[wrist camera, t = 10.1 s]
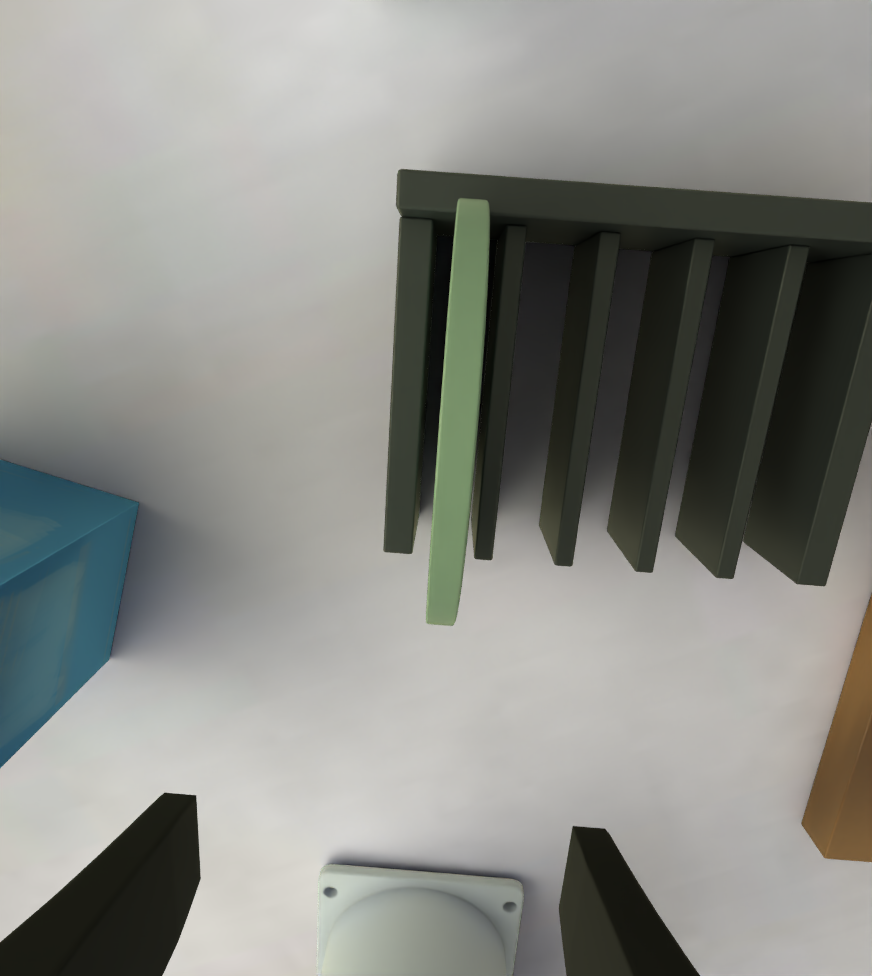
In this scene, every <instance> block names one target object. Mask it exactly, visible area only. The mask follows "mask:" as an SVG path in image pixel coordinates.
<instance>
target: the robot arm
mask: <svg viewBox="0 0 872 976" xmlns="http://www.w3.org/2000/svg"><path fill="white" fill-rule="evenodd" d="M200 879H201V877H200V858H199V839H198V821H197V802H196V795H185V794H173V793H164V794H163V795H161V796H160V797H159V798H158V799H157V800H156V801H155V802H154V803H153V804H152V805H151V806H149V807H148V808H147V809H146V810H145V811H144V812H143V813H142V814H141V815H140V816H139V817H138V818H137V819H136V820H135V821H134V822H133V823H132V824H131V825H130V826H129V827H128V828H127V829H126V830H125V831H124V832H123V833H122V834H121V835H119V836H118V837H117V838H116V839H115V840H114V841H113V842H112V843H111V844H110V845H109V846H108V847H107V848H106V849H105V850H104V851H103V852H102V853H101V854H100V855H98V856H97V857H96V858H95V859H94V860H93V861H92V862H91V863H90V864H89V865H88V866H87V867H85V868H84V869H83V870H82V871H81V872H80V873H79V874H78V875H77V876H76V877H75V878H73V879H72V880H71V881H70V882H69V883H68V884H67V885H66V886H65V887H64V888H63V889H61V890H60V891H59V892H58V893H57V894H56V895H55V896H54V897H53V898H51V899H50V900H49V901H48V902H47V903H46V904H45V905H43V906H42V907H41V908H40V909H39V910H37V911H36V912H35V913H34V914H33V915H32V916H30V917H29V918H28V919H27V920H26V921H25V922H23V923H22V924H21V925H20V926H19V927H18V928H16V929H15V930H14V931H13V932H12V933H11V934H9V935H8V936H7V937H6V938H5V939H4V940H2V941H1V942H0V976H162V975H163V973H164V971H165V969H166V966H167V964H168V962H169V960H170V958H171V956H172V954H173V951H174V949H175V947H176V945H177V943H178V940H179V938H180V935H181V932H182V930H183V927H184V924H185V921H186V919H187V916H188V913H189V910H190V908H191V905H192V902H193V899H194V896H195V893H196V890H197V887H198V885H199V882H200ZM331 887H333V888H331ZM523 901H524V892H523V886H522V884H521V883H520V882H519V881H517V880H515V879H508V878H496V877H484V876H472V875H460V874H448V873H435V872H423V871H411V870H399V869H387V868H375V867H363V866H351V865H338V864H328V865H326V866H324V867H323V868H322V869H321V871H320V875H319V879H318V926H317V976H513V969H514V962H515V955H516V948H517V942H518V935H519V928H520V921H521V914H522V908H523ZM559 914H560V924H561V933H562V942H563V950H564V959H565V967H566V974H567V976H700V975H699V974H698V972H697V971H696V969H695V968H694V966H693V965H692V964H691V962H690V961H689V959H688V958H687V956H686V955H685V954H684V952H683V951H682V949H681V948H680V946H679V945H678V943H677V942H676V940H675V939H674V937H673V936H672V934H671V933H670V931H669V930H668V928H667V927H666V925H665V924H664V922H663V921H662V919H661V918H660V916H659V915H658V913H657V912H656V910H655V908H654V907H653V905H652V904H651V902H650V901H649V899H648V897H647V896H646V894H645V893H644V891H643V889H642V888H641V886H640V885H639V883H638V881H637V880H636V878H635V876H634V875H633V873H632V871H631V870H630V868H629V867H628V865H627V863H626V861H625V860H624V858H623V856H622V855H621V853H620V851H619V850H618V848H617V846H616V844H615V843H614V841H613V839H612V837H611V836H610V834H609V833H608V832H607V831H606V829H602V828H589V827H577V826H573V828H572V834H571V840H570V845H569V851H568V857H567V863H566V869H565V875H564V881H563V887H562V893H561V898H560V904H559Z"/></svg>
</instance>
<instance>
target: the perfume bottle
mask: <svg viewBox="0 0 872 976" xmlns="http://www.w3.org/2000/svg"><path fill="white" fill-rule="evenodd" d="M138 506H139V502H136V501H132V500H129V499H126V498H123V497H119V496H116V495H113V494H110V493H107V492H103V491H100V490H97V489H94V488H90V487H87V486H84V485H81V484H78V483H74V482H71V481H68V480H65V479H61V478H58V477H55V476H52V475H49V474H45V473H42V472H39V471H36V470H32V469H29V468H26V467H23V466H20V465H16V464H13V463H10V462H7V461H3V460H0V768H1V767H2V766H3V765H4V764H5V763H6V762H7V761H8V760H9V759H10V758H11V757H12V756H13V755H14V754H15V753H16V752H17V751H18V750H19V749H20V748H21V747H22V746H23V745H24V744H25V743H26V742H27V741H28V740H29V739H30V738H31V737H32V736H33V735H34V734H35V733H36V732H37V731H38V730H39V729H40V728H41V727H42V726H43V725H44V724H45V723H46V722H47V721H48V720H49V719H50V718H51V717H52V716H53V715H54V714H55V713H56V712H57V711H58V710H59V709H60V708H61V707H62V706H63V705H64V704H65V703H66V702H67V701H68V700H69V699H70V698H71V697H72V696H73V695H74V694H75V693H76V692H77V691H78V690H79V689H80V688H81V687H82V686H83V685H84V684H85V683H86V682H87V681H88V680H89V679H90V678H91V677H92V676H93V675H94V674H95V673H96V672H97V671H98V670H99V669H100V668H101V667H102V666H103V665H104V664H105V663H106V662H107V661H108V660H109V658H110V653H111V648H112V643H113V637H114V632H115V627H116V621H117V616H118V611H119V606H120V600H121V595H122V590H123V585H124V579H125V574H126V569H127V564H128V558H129V553H130V548H131V543H132V537H133V532H134V527H135V521H136V516H137V511H138Z"/></svg>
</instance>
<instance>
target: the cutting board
mask: <svg viewBox="0 0 872 976" xmlns="http://www.w3.org/2000/svg"><path fill="white" fill-rule="evenodd" d="M802 826H803V827H804V829H805V830H806V832H807V833H808V835H809V836H810V838H811V839H812V841H813V842H814V844H815V845H816V847H817V848H818V849H819V851H820V852H821V854H822V855H823V857H824V858H827V859H839V860H851V861H864V862H872V594H871V597H870V601H869V604H868V607H867V610H866V614H865V617H864V620H863V623H862V627H861V630H860V633H859V637H858V640H857V643H856V646H855V650H854V653H853V656H852V659H851V663H850V666H849V669H848V673H847V676H846V679H845V682H844V686H843V689H842V692H841V695H840V699H839V702H838V705H837V709H836V712H835V715H834V718H833V722H832V725H831V728H830V731H829V735H828V738H827V741H826V745H825V748H824V751H823V754H822V758H821V761H820V764H819V767H818V771H817V774H816V777H815V781H814V784H813V787H812V790H811V794H810V797H809V800H808V803H807V807H806V810H805V813H804V817H803V820H802Z"/></svg>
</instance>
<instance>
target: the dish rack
mask: <svg viewBox="0 0 872 976" xmlns="http://www.w3.org/2000/svg"><path fill="white" fill-rule="evenodd" d="M396 206H397V209H398V211H399V213H400V214H401V216H402V217H400V222H399V243H398V263H397V284H396V304H395V325H394V345H393V365H392V386H391V406H390V427H389V447H388V467H387V488H386V508H385V529H384V549H383V550H384V552H390V553H403V554H412V552H413V546H414V541H415V535H416V530H417V524H418V518H419V508H420V493H421V477H422V462H423V447H424V432H425V417H426V402H427V387H428V371H429V356H430V341H431V326H432V311H433V296H434V280H435V265H436V250H437V235H438V236H452V237H454V243H453V254H452V266H451V278H450V290H449V303H448V315H447V328H446V340H445V353H444V366H443V379H442V392H441V406H440V419H439V432H438V446H437V459H436V473H435V487H434V501H433V515H432V529H431V544H430V559H429V574H428V590H427V607H426V623H427V624H434V625H447V626H453V625H454V623H455V621H456V617H457V613H458V607H459V601H460V594H461V587H462V579H463V571H464V563H465V555H466V546H467V537H468V527H469V518H470V508H471V498H472V487H473V477H474V466H475V454H476V443H477V431H478V419H479V407H480V394H481V381H482V367H483V353H484V338H485V323H486V307H487V289H488V269H489V243H490V239H493V240H498V241H497V247H496V258H495V269H494V279H493V290H492V301H491V312H490V323H489V333H488V344H487V355H486V366H485V377H484V387H483V398H482V409H481V420H480V431H479V442H478V452H477V463H476V474H475V485H474V496H473V506H472V517H471V523H472V535H473V548H474V558H475V559H481V560H492V558H493V548H494V539H495V529H496V520H497V510H498V501H499V491H500V482H501V472H502V463H503V453H504V444H505V434H506V425H507V415H508V406H509V396H510V387H511V377H512V368H513V358H514V349H515V339H516V329H517V320H518V310H519V301H520V291H521V282H522V272H523V263H524V253H525V244H526V242H535V243H548V244H562V245H576V246H575V247H574V254H573V262H572V270H571V277H570V285H569V293H568V301H567V309H566V317H565V325H564V333H563V340H562V348H561V356H560V364H559V372H558V380H557V388H556V396H555V403H554V411H553V419H552V427H551V435H550V443H549V451H548V459H547V466H546V474H545V482H544V490H543V498H542V506H541V514H540V522H539V526H540V529H541V531H542V534H543V536H544V539H545V541H546V544H547V546H548V549H549V551H550V554H551V556H552V559H553V561H554V564H555V565H558V566H572V565H573V558H574V552H575V545H576V538H577V531H578V524H579V517H580V511H581V504H582V497H583V490H584V483H585V477H586V470H587V463H588V456H589V449H590V443H591V436H592V429H593V422H594V415H595V408H596V402H597V395H598V388H599V381H600V374H601V368H602V361H603V354H604V347H605V340H606V334H607V327H608V320H609V313H610V306H611V300H612V293H613V286H614V279H615V272H616V265H617V259H618V252H619V249H631V250H645V251H654V252H652V255H651V261H650V267H649V274H648V280H647V286H646V292H645V298H644V305H643V311H642V317H641V323H640V329H639V336H638V342H637V348H636V354H635V360H634V366H633V373H632V379H631V385H630V391H629V397H628V404H627V410H626V416H625V422H624V428H623V434H622V441H621V447H620V453H619V459H618V465H617V472H616V478H615V484H614V490H613V496H612V502H611V509H610V515H609V521H608V527H607V532H608V533H609V534H610V536H611V537H612V539H613V540H614V542H615V543H616V544H617V546H618V547H619V549H620V550H621V552H622V553H623V554H624V556H625V557H626V559H627V560H628V561H629V563H630V564H631V566H632V567H633V569H634V570H635V571H636V572H648V573H652V572H653V568H654V563H655V557H656V552H657V547H658V541H659V536H660V531H661V525H662V520H663V515H664V510H665V504H666V499H667V494H668V488H669V483H670V478H671V473H672V467H673V462H674V457H675V451H676V446H677V441H678V435H679V430H680V425H681V420H682V414H683V409H684V404H685V398H686V393H687V388H688V383H689V377H690V372H691V367H692V361H693V356H694V351H695V345H696V340H697V335H698V330H699V324H700V319H701V314H702V308H703V303H704V298H705V292H706V287H707V282H708V277H709V271H710V266H711V261H712V255H714V256H728V257H730V259H729V264H728V269H727V274H726V279H725V284H724V289H723V295H722V300H721V305H720V310H719V315H718V320H717V325H716V330H715V335H714V340H713V345H712V350H711V356H710V361H709V366H708V371H707V376H706V381H705V386H704V391H703V396H702V401H701V406H700V411H699V417H698V422H697V427H696V432H695V437H694V442H693V447H692V452H691V457H690V462H689V467H688V472H687V478H686V483H685V488H684V493H683V498H682V503H681V508H680V513H679V518H678V523H677V528H676V533H675V537H676V538H677V539H678V540H679V541H680V542H681V543H682V544H683V545H684V546H685V547H686V548H687V549H688V550H689V551H690V552H691V553H692V554H693V555H694V556H695V557H696V558H697V559H698V560H699V561H700V562H701V563H702V564H703V565H704V566H705V567H706V568H707V569H708V570H709V571H710V572H711V573H712V574H713V575H714V576H715V577H716V578H726V579H733V578H734V574H735V569H736V565H737V561H738V556H739V552H740V548H741V543H742V539H743V535H744V539H743V542H744V543H745V544H747V545H748V546H749V547H750V548H752V549H753V550H754V551H756V552H757V553H758V554H759V555H761V556H762V557H763V558H764V559H766V560H767V561H768V562H770V563H771V564H772V565H773V566H775V567H776V568H777V569H778V570H780V571H781V572H782V573H783V574H785V575H786V576H787V577H789V578H790V579H791V580H792V581H794V582H795V583H796V584H801V585H814V586H825V585H826V582H827V579H828V575H829V572H830V568H831V565H832V561H833V557H834V554H835V550H836V547H837V543H838V540H839V536H840V532H841V529H842V525H843V522H844V518H845V515H846V511H847V507H848V504H849V500H850V497H851V493H852V490H853V486H854V482H855V479H856V475H857V472H858V468H859V465H860V461H861V457H862V454H863V450H864V447H865V443H866V440H867V436H868V432H869V429H870V425H871V422H872V203H871V202H857V201H843V200H829V199H815V198H801V197H787V196H773V195H759V194H745V193H731V192H717V191H703V190H689V189H675V188H661V187H647V186H633V185H618V184H604V183H590V182H576V181H562V180H548V179H534V178H520V177H506V176H492V175H478V174H464V173H450V172H436V171H422V170H408V169H401V170H399V171H398V174H397V195H396ZM806 262H810V263H808V264H807V267H806ZM805 267H806V271H805ZM804 271H805V275H804ZM803 275H804V280H803ZM802 280H803V284H802ZM801 284H802V288H801ZM800 288H801V293H800ZM799 293H800V297H799ZM798 297H799V301H798ZM797 301H798V306H797ZM796 306H797V310H796ZM795 310H796V314H795ZM794 314H795V319H794ZM793 319H794V323H793ZM792 323H793V327H792ZM791 327H792V332H791ZM790 332H791V336H790ZM789 336H790V340H789ZM788 340H789V345H788ZM787 345H788V349H787ZM786 349H787V353H786ZM785 353H786V357H785ZM784 358H785V362H784ZM783 362H784V366H783ZM782 366H783V370H782ZM781 370H782V375H781ZM780 375H781V379H780ZM779 379H780V383H779ZM778 383H779V388H778ZM777 388H778V392H777ZM776 392H777V396H776ZM775 396H776V401H775ZM774 401H775V405H774ZM773 405H774V409H773ZM772 409H773V414H772ZM771 414H772V418H771ZM770 418H771V422H770ZM769 422H770V426H769ZM768 427H769V431H768ZM767 431H768V435H767ZM766 435H767V439H766ZM765 440H766V444H765ZM764 444H765V448H764ZM763 448H764V452H763ZM762 453H763V457H762ZM761 457H762V461H761ZM760 461H761V465H760ZM759 466H760V470H759ZM758 470H759V474H758ZM757 474H758V478H757ZM756 479H757V483H756ZM755 483H756V487H755ZM754 487H755V491H754ZM753 492H754V495H753ZM752 496H753V500H752ZM751 500H752V504H751ZM750 504H751V508H750ZM749 509H750V513H749ZM748 513H749V517H748ZM747 517H748V521H747ZM746 522H747V526H746ZM745 526H746V530H745ZM744 530H745V534H744Z"/></svg>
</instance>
